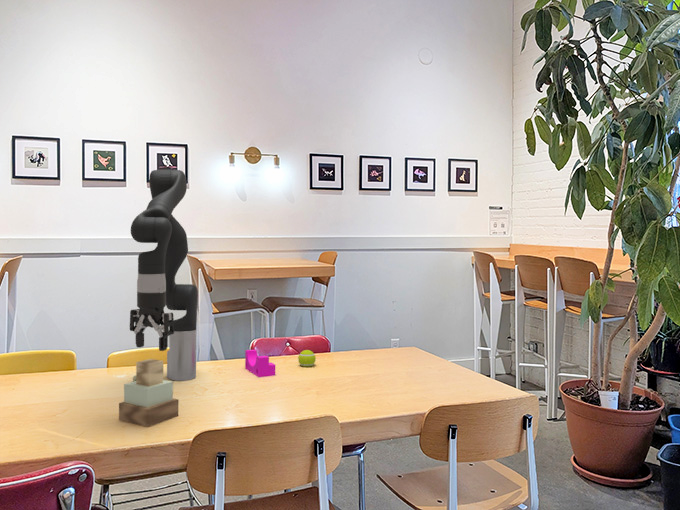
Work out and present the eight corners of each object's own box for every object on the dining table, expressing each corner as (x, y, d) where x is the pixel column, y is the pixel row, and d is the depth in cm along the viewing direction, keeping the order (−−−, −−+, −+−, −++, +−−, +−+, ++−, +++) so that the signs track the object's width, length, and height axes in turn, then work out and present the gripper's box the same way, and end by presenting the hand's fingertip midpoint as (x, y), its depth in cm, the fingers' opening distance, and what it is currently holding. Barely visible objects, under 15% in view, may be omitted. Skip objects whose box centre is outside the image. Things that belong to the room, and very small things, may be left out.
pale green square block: (124, 402, 157) (124, 384, 157) (149, 394, 165) (149, 377, 165) (147, 407, 153) (147, 388, 152) (172, 399, 160) (172, 381, 160)
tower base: (118, 421, 156) (119, 403, 156) (149, 410, 166) (149, 393, 166) (148, 428, 151) (148, 409, 151) (178, 417, 161) (178, 399, 161)
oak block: (136, 383, 157) (136, 362, 157) (150, 380, 162) (150, 358, 161) (149, 386, 155) (149, 364, 155) (163, 382, 159) (163, 360, 159)
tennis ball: (314, 369, 219) (315, 352, 219) (297, 369, 220) (297, 351, 219) (315, 365, 226) (316, 348, 226) (298, 365, 226) (299, 348, 226)
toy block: (275, 377, 208) (275, 356, 207) (258, 378, 205) (259, 357, 204) (260, 368, 221) (261, 348, 221) (245, 369, 218) (245, 350, 218)
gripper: (122, 289, 158) (122, 348, 158) (160, 292, 151) (160, 354, 152) (143, 287, 164) (143, 343, 165) (180, 290, 158) (180, 349, 158)
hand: (151, 348), depth 158 cm, fingers open, 8 cm apart
